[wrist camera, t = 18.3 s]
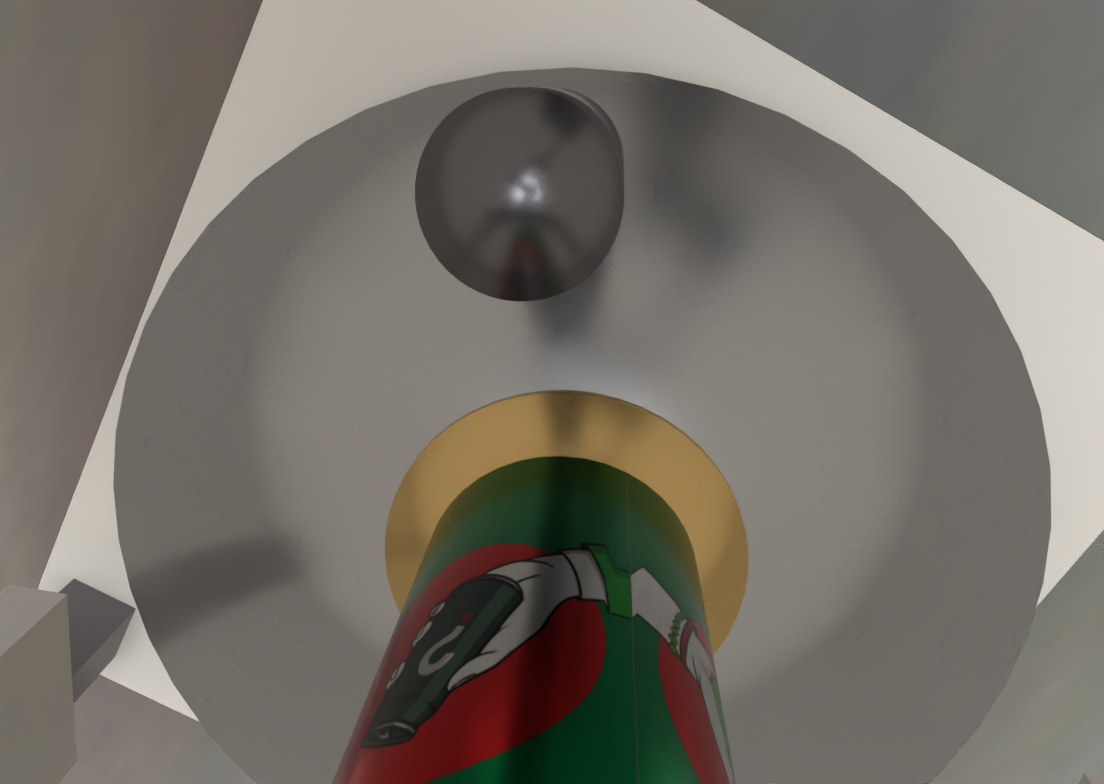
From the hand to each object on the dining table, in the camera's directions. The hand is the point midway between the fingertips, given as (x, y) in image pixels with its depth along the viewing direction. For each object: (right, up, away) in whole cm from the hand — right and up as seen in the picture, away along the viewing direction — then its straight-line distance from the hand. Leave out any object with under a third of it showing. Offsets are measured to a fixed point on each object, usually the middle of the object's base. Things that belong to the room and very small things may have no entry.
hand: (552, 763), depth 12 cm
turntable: (0, +2, +8) cm, 8 cm away
